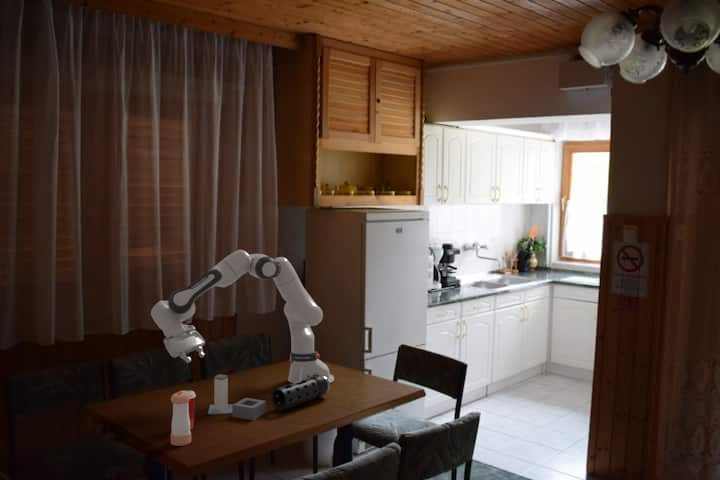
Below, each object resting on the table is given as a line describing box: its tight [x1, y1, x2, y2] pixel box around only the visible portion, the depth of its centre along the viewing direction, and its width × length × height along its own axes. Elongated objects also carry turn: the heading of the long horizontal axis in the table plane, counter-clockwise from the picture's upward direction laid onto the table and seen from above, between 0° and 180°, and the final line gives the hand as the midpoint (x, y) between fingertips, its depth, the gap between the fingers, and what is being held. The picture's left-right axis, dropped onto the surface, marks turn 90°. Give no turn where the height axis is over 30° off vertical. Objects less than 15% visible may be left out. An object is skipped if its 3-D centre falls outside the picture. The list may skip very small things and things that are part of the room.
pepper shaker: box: [170, 390, 192, 447], centre depth 244 cm, size 7×7×19 cm
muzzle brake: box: [270, 375, 331, 412], centre depth 289 cm, size 10×28×10 cm, turn 141°
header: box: [231, 397, 267, 421], centre depth 274 cm, size 10×10×5 cm
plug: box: [213, 374, 229, 411], centre depth 279 cm, size 4×4×14 cm
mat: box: [207, 403, 234, 415], centre depth 280 cm, size 10×10×1 cm
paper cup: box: [182, 390, 197, 431], centre depth 258 cm, size 8×8×14 cm
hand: (196, 359), depth 283 cm, fingers open, 8 cm apart
